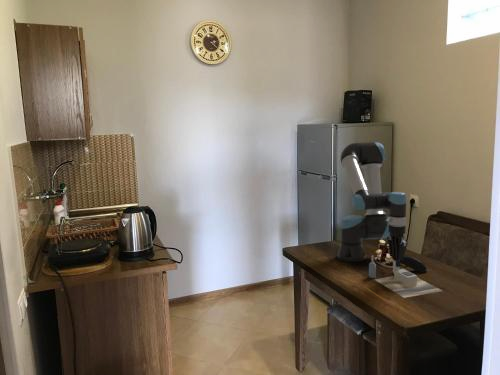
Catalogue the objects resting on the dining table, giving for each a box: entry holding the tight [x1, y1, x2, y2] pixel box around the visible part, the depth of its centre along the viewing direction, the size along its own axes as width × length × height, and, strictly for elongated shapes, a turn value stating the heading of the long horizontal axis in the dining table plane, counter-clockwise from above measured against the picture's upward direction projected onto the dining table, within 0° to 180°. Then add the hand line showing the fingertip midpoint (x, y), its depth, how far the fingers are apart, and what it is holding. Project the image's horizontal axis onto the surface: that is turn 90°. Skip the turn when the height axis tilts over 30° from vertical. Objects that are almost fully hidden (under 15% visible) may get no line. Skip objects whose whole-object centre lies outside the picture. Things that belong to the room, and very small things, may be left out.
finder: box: [393, 268, 418, 286], centre depth 189 cm, size 10×5×4 cm, turn 16°
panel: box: [373, 275, 443, 299], centre depth 185 cm, size 22×20×1 cm
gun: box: [400, 255, 429, 273], centre depth 202 cm, size 3×16×10 cm, turn 79°
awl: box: [368, 255, 377, 279], centre depth 195 cm, size 3×3×11 cm
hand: (396, 272), depth 196 cm, fingers closed
